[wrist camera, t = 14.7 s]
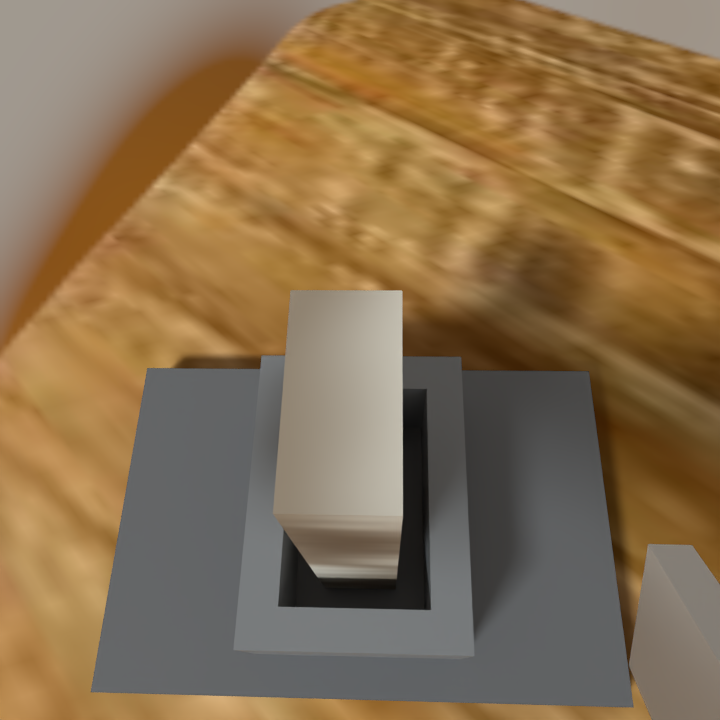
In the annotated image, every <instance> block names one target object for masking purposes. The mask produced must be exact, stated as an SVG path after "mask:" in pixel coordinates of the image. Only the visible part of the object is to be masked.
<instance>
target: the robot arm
mask: <svg viewBox="0 0 720 720" xmlns="http://www.w3.org/2000/svg"><path fill="white" fill-rule="evenodd" d="M629 667H630V670H631V672H632V674H633V677H634V679H635V681H636V684H637V686H638V688H639V691H640V693H641V695H642V698H643V700H644V702H645V705H646V707H647V709H648V712H649V714H650V716H651V719H652V720H720V584H719V583H718V582H717V580H716V579H715V577H714V576H713V574H712V573H711V572H710V570H709V569H708V567H707V566H706V564H705V563H704V562H703V560H702V559H701V557H700V556H699V554H698V553H697V552H696V550H695V549H694V547H693V546H692V545H662V544H648V549H647V556H646V562H645V568H644V574H643V580H642V587H641V593H640V599H639V605H638V611H637V618H636V624H635V630H634V636H633V642H632V648H631V655H630V661H629Z"/></svg>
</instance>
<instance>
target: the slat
mask: <svg viewBox="0 0 720 720" xmlns="http://www.w3.org/2000/svg"><path fill="white" fill-rule="evenodd" d="M273 515H274V516H275V518H276V519H277V520H278V522H279V523H280V525H281V526H282V527H283V529H284V530H285V532H286V533H287V535H288V536H289V537H290V539H291V540H292V542H293V543H294V545H295V546H296V547H297V549H298V550H299V552H300V553H301V555H302V556H303V557H304V559H305V560H306V562H307V563H308V564H309V566H310V567H311V569H312V570H313V572H314V573H315V574H316V576H317V577H318V579H319V580H320V582H321V583H322V584H323V586H324V587H325V588H354V589H396V580H397V570H398V560H399V550H400V540H401V530H402V520H403V375H402V291H327V290H291V292H290V304H289V317H288V330H287V342H286V355H285V367H284V380H283V393H282V405H281V418H280V430H279V443H278V456H277V468H276V481H275V493H274V506H273Z"/></svg>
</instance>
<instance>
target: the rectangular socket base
mask: <svg viewBox="0 0 720 720" xmlns="http://www.w3.org/2000/svg"><path fill="white" fill-rule="evenodd" d="M284 367H285V356H262V357H261V367H260V369H181V368H147V373H146V379H145V385H144V391H143V396H142V402H141V408H140V414H139V419H138V425H137V431H136V436H135V442H134V448H133V454H132V459H131V465H130V471H129V476H128V482H127V488H126V494H125V499H124V505H123V511H122V516H121V522H120V528H119V534H118V539H117V545H116V551H115V556H114V562H113V568H112V574H111V579H110V585H109V591H108V596H107V602H106V608H105V614H104V619H103V625H102V631H101V636H100V642H99V648H98V654H97V659H96V665H95V671H94V677H93V682H92V688H91V692H106V693H142V694H177V695H213V696H248V697H284V698H319V699H355V700H390V701H425V702H461V703H496V704H532V705H567V706H603V707H633V700H632V692H631V685H630V677H629V670H628V662H627V655H626V647H625V640H624V632H623V625H622V617H621V610H620V602H619V595H618V587H617V580H616V572H615V564H614V557H613V549H612V542H611V534H610V527H609V519H608V512H607V504H606V497H605V489H604V482H603V474H602V467H601V459H600V452H599V444H598V437H597V429H596V422H595V414H594V407H593V399H592V391H591V384H590V376H589V371H468V370H462V363H461V357H407V356H402V375H403V520H402V530H401V540H400V550H399V560H398V570H397V580H396V589H354V588H325V587H324V586H323V584H322V583H321V582H320V580H319V579H318V577H317V576H316V574H315V573H314V572H313V570H312V569H311V567H310V566H309V564H308V563H307V562H306V560H305V559H304V557H303V556H302V555H301V553H300V552H299V550H298V549H297V547H296V546H295V545H294V543H293V542H292V540H291V539H290V537H289V536H288V535H287V533H286V532H285V530H284V529H283V527H282V526H281V525H280V523H279V522H278V520H277V519H276V518H275V516H274V515H273V506H274V493H275V481H276V468H277V456H278V443H279V430H280V418H281V405H282V393H283V380H284Z"/></svg>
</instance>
